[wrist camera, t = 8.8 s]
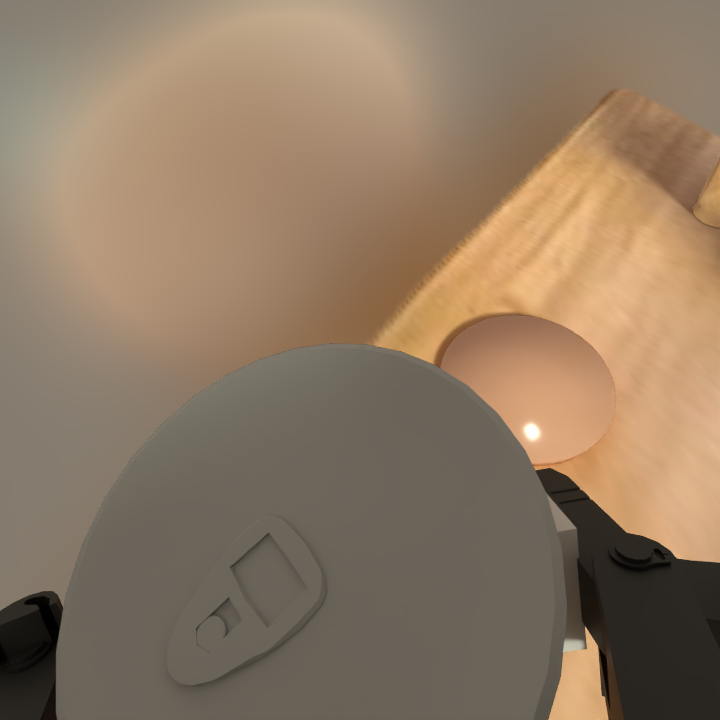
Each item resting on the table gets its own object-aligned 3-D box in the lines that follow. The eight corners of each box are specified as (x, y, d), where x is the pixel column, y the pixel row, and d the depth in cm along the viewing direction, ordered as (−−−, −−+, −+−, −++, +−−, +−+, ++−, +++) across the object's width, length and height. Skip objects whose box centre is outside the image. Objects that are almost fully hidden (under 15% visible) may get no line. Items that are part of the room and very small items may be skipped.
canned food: (236, 622, 15) (-50, 646, 6) (348, 449, 18) (274, 289, 9) (412, 780, 12) (387, 1314, 3) (508, 542, 15) (640, 446, 6)
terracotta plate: (503, 299, 36) (505, 291, 35) (644, 383, 30) (650, 377, 29) (406, 388, 33) (405, 382, 32) (544, 505, 27) (548, 501, 26)
